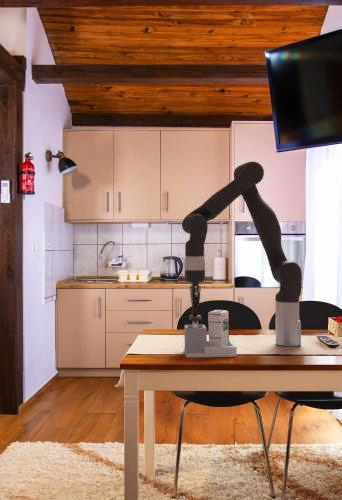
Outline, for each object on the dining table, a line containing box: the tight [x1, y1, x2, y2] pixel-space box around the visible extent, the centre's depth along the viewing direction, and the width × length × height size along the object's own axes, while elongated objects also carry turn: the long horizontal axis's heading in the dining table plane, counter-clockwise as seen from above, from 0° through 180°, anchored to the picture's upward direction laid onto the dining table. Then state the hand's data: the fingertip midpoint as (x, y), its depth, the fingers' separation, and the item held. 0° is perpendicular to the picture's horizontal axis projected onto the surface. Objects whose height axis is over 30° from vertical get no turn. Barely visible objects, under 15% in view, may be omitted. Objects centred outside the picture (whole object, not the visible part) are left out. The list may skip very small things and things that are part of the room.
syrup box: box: [207, 309, 230, 347], centre depth 175 cm, size 6×6×14 cm
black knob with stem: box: [188, 314, 202, 328], centre depth 175 cm, size 4×4×8 cm
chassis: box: [183, 324, 238, 358], centre depth 175 cm, size 18×11×10 cm, turn 92°
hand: (195, 315), depth 175 cm, fingers closed
